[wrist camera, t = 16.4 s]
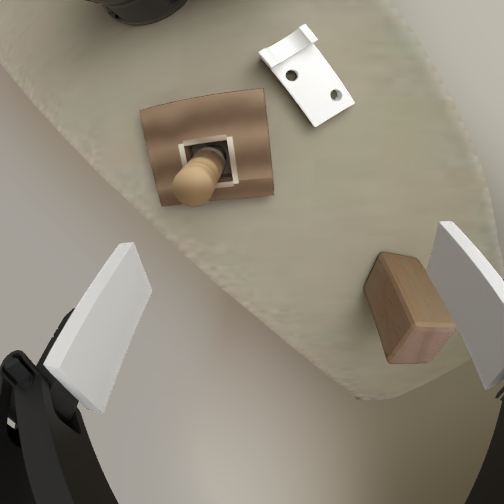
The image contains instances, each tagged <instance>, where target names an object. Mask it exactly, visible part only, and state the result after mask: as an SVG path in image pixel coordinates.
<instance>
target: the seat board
mask: <svg viewBox="0 0 504 504" xmlns="http://www.w3.org/2000/svg"><path fill="white" fill-rule="evenodd" d="M140 116H141V121H142V126H143V131H144V135H145V140H146V145H147V149H148V154H149V158H150V162H151V166H152V171H153V175H154V179H155V183H156V187H157V191H158V194H159V198H160V202H161V206H170V205H178V204H183V203H181V202H180V201H179V200H178V199H177V198H176V197H175V195H174V192H173V187H172V185H173V180H174V178H175V176H176V175H177V174H178V173H179V171H180V170H181V169H182V168H183V167H184V166H185V165H186V164H187V163H188V162H189V160H190V159H191V158H192V157H193V150H192V145H194V144H200V143H207V142H214V141H222V140H227V144H228V150H229V157H230V164H231V170H232V173H229V174H221V176H220V178H219V180H218V183H217V185H216V187H215V189H214V191H213V193H212V195H211V197H210V199H209V200H208V201H213V200H223V199H233V198H244V197H256V196H269V195H274V184H273V173H272V163H271V152H270V143H269V133H268V124H267V114H266V105H265V97H264V88H260V89H250V90H242V91H234V92H226V93H219V94H213V95H207V96H201V97H196V98H190V99H185V100H180V101H176V102H171V103H167V104H162V105H158V106H154V107H150V108H147V109H143V110H140Z"/></svg>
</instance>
